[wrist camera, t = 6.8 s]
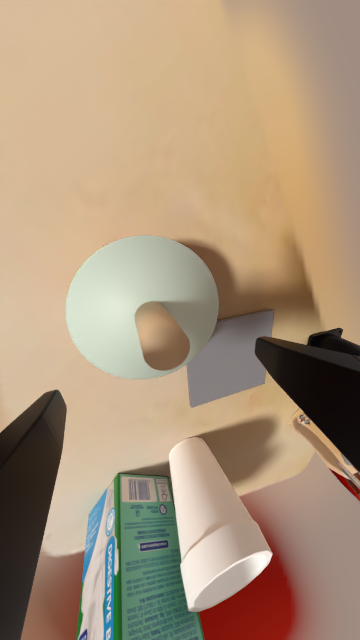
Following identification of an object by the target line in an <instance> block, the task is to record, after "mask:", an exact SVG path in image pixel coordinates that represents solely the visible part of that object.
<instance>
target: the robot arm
mask: <svg viewBox="0 0 360 640" xmlns="http://www.w3.org/2000/svg"><path fill="white" fill-rule="evenodd" d="M342 331H343V329H341V328H337V329H333V330H329V331H325V332H322V333H318V334H315V335H311V336H310V337H309V340H308V345H304V344H299V343H295V342H290V341H285V340H281V339H276V338H272V337H267V336H262V337H258V338H257V339H256V342H255V355H256V357H257V358H258V359H259V361H260V362H261V363H262V365H263V366H264V367H265V369H266V370H267V371H268V373H269V374H270V375H271V376H272V378H273V379H274V380H275V381H276V382H277V384H278V385H279V386H280V387H281V388H282V389H283V390H284V391H285V392H286V393H287V395H288V396H289V397H290V398H291V399H292V400H293V401H294V402H295V403H296V404H297V405H298V406H299V408H300V409H301V410H302V411H303V412H304V413H305V414H306V415H307V416H308V417H309V418H310V420H311V421H312V422H313V423H314V424H315V425H316V426H317V427H318V428H319V429H320V430H321V432H322V433H323V434H324V435H325V436H326V437H327V438H328V439H329V440H330V441H331V442H332V443H333V445H334V446H335V447H336V448H337V449H338V450H339V451H340V452H341V453H342V454H343V455H344V457H345V458H346V459H347V460H348V461H349V462H350V463H351V464H352V465H353V466H354V467H355V468H356V470H357V471H358V472H359V473H360V346H359V345H357V344H354V343H352V342H349V341H347V340H345V339H342V338H341V335H342ZM66 412H67V408H66V404H65V402H64V400H63V397H62V395H61V393H60V391H59V390H53V391H49V392H46V393H44V394H43V395H42V396H41V397H40V398H39V399H38V400H36V401H35V402H34V403H33V404H32V405H31V406H30V407H29V408H27V409H26V410H25V411H24V412H23V413H22V414H21V415H20V416H19V417H17V418H16V419H15V420H14V421H13V422H12V423H11V424H10V425H8V426H7V427H6V428H5V429H4V430H3V431H2V432H1V433H0V640H20V639H21V635H22V630H23V626H24V621H25V617H26V612H27V607H28V603H29V599H30V594H31V590H32V585H33V581H34V576H35V572H36V567H37V563H38V558H39V554H40V549H41V545H42V540H43V536H44V531H45V527H46V522H47V518H48V513H49V509H50V504H51V500H52V495H53V491H54V486H55V482H56V477H57V473H58V468H59V464H60V459H61V454H62V448H63V440H64V430H65V421H66Z"/></svg>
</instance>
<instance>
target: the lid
mask: <svg viewBox="0 0 360 640" xmlns="http://www.w3.org/2000/svg"><path fill="white" fill-rule="evenodd" d="M218 312H219V297H218V291H217V287H216V283H215V280H214V278H213V276H212V274H211V272H210V270H209V269H208V267H207V266H206V264H205V263H204V262H203V261H202V259H201V258H200V257H199V256H198V255H197V254H195V253H194V252H193V251H192V250H191V249H189V248H187V247H186V246H184V245H183V244H181V243H178V242H176V241H174V240H171V239H168V238H164V237H159V236H152V235H139V236H132V237H126V238H123V239H120V240H117V241H114V242H112V243H110V244H108V245H106V246H104V247H102V248H101V249H99V250H98V251H96V252H95V253H94V254H93V255H92V256H91V257H89V258H88V259H87V260H86V261H85V262H84V264H83V265H82V266H81V267H80V269H79V270H78V271H77V273H76V275H75V277H74V278H73V280H72V283H71V285H70V288H69V291H68V295H67V300H66V321H67V326H68V330H69V333H70V335H71V338H72V340H73V342H74V344H75V345H76V347H77V348H78V350H79V351H80V352H81V354H82V355H83V356H84V357H85V358H86V359H87V360H88V361H89V362H90V363H92V364H93V365H94V366H96V367H97V368H99V369H100V370H102V371H104V372H106V373H109V374H111V375H114V376H117V377H121V378H126V379H152V378H157V377H161V376H164V375H167V374H170V373H172V372H174V371H177V370H178V369H180V368H182V367H184V366H185V365H186V364H188V363H189V362H191V361H192V360H193V359H194V358H195V357H196V356H197V355H198V354H199V353H200V352H201V351H202V350H203V348H204V347H205V345H206V344H207V343H208V341H209V339H210V337H211V336H212V333H213V331H214V329H215V326H216V322H217V318H218Z"/></svg>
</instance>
